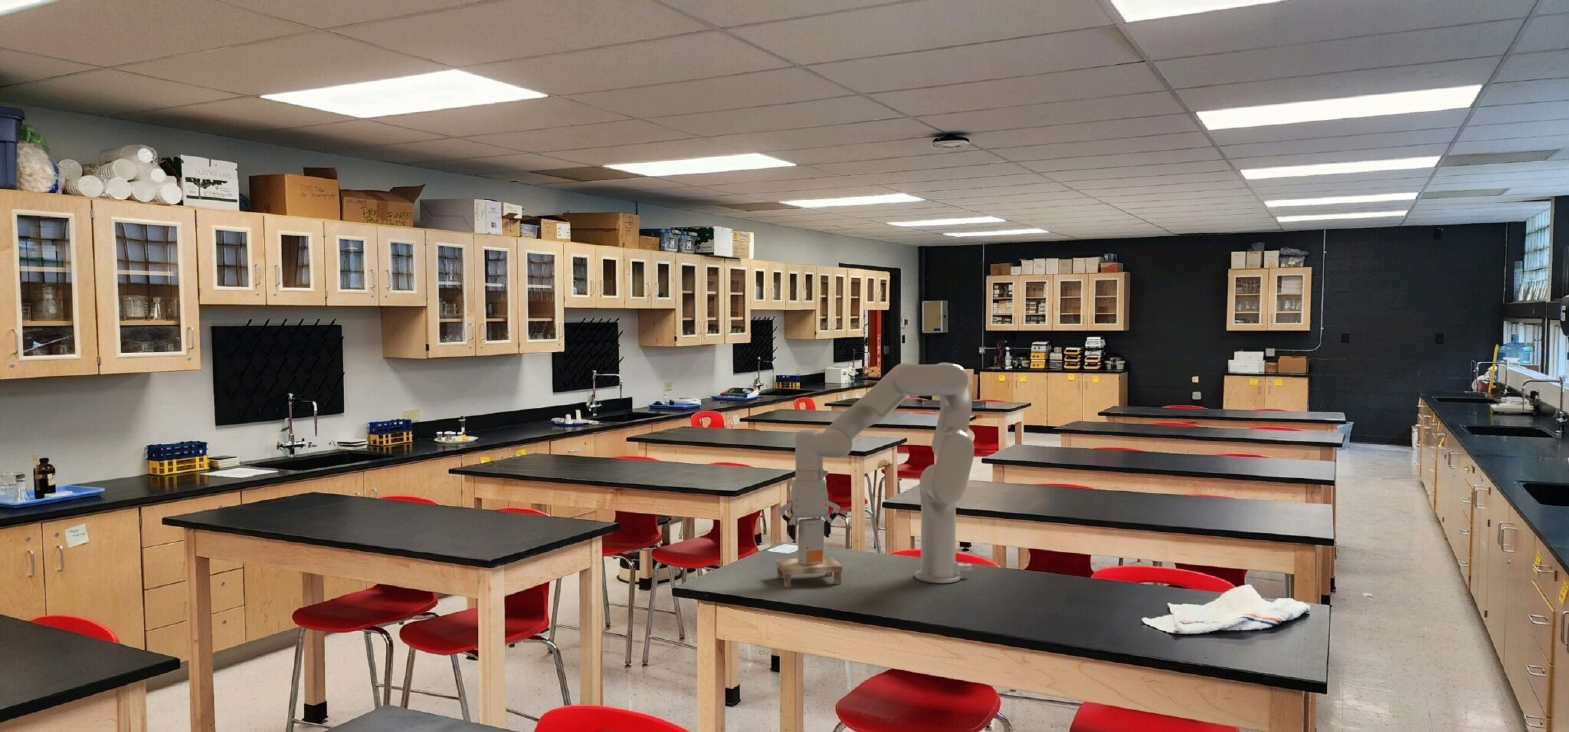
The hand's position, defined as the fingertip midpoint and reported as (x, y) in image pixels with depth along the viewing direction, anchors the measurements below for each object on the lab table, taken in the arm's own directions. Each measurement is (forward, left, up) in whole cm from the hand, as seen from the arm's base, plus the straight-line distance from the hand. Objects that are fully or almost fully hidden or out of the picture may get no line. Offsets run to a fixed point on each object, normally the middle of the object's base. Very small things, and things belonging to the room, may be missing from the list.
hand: (809, 537), depth 260 cm
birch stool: (0, 0, -12) cm, 12 cm away
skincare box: (0, 0, -7) cm, 7 cm away
